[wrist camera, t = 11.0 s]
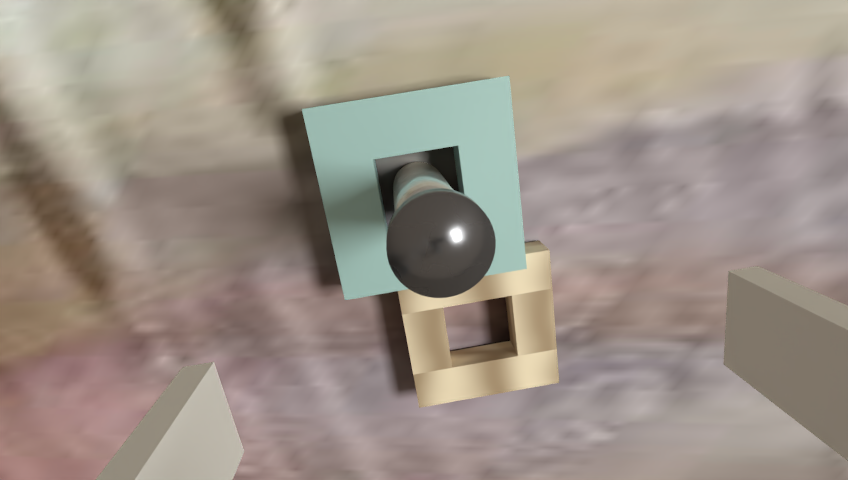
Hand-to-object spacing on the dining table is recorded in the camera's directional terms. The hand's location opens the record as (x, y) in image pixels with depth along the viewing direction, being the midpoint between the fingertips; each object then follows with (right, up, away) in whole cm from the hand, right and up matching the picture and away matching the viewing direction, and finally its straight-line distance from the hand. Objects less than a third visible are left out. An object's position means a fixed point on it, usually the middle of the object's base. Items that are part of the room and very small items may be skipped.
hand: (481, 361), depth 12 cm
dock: (-2, +7, +23) cm, 25 cm away
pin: (-2, +7, +23) cm, 25 cm away
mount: (+3, -4, +27) cm, 28 cm away
